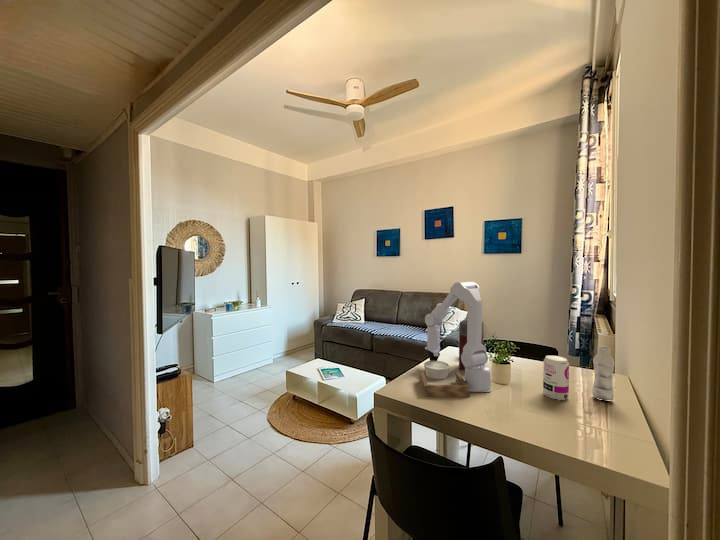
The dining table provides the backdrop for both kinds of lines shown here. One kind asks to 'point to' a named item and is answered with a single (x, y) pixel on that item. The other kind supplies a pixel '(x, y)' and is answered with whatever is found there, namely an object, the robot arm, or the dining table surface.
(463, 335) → the dark red bottle
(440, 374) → the ramekin
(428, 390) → the shallow wooden tray
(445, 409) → the dining table surface
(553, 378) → the supplement can
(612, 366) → the plastic bottle
